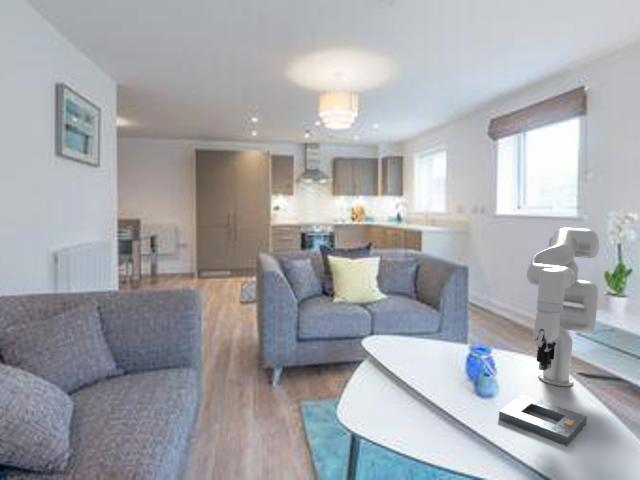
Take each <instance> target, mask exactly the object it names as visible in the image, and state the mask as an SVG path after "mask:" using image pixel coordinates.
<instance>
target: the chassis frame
mask: <svg viewBox="0 0 640 480" xmlns="http://www.w3.org/2000/svg"><path fill="white" fill-rule="evenodd" d="M530 413H534V414H536V415H538V416H542V417H545V418H547V419H550V420H552V421H555V422H557V423H556V424H555V423H553V422H549V421H546V420H544V419H542V418H540V417H536V416H533V415H530ZM499 419H500V420H499ZM498 420H499V421H501V420H502V422H504V421H505V422H504V423H506V422H507V424H509V423H510V425H511V424H512V426H514V427H516V426H517V428H519V429H522V430H524V431H527V432H530V433H532V434H535V435H536V436H537V435H538V436H540V437H542V438H544V439H547V440H550V441H551V442H552V441H553V442H554V443H557V444H560V445H562V446H565V447H568V446H569V445H570V443H572V441H573V440H574V439H575V438H576V437H577V436H578V435H579V433H581V431H582V430H584V428H585V427H586V425H587V422H588V421H587V420H588V416H587V415H584V414H582V413H579V412H576V411H574V410H570V409H567V408H564V407H561V406H558V405H555V404H553V403H550V402H547V401H544V400H541V399H538V398H534V397H532V396H529V395H526V394H524V393H522V394H521V395H519V396H518V397H516V398H515V399H513V401H511V402H509V403H508V404H507V405H505V406H504V407H503V408H502V409H500V410H499V411H498Z"/></svg>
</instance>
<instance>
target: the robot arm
mask: <svg viewBox="0 0 640 480" xmlns="http://www.w3.org/2000/svg"><path fill="white" fill-rule="evenodd" d="M599 250H600V241H599V236H598V234H597V232H596V231H595V230H593V229H590V228H577V227H562V228H559V229H557V230H555V231H554V234H553V235H552V236H550V237H549V239H548V248H546V249H544V250H541V251H538V252H537V253H535V254H534V255H533V257H532V258H531V260H530V262H529V265H528V269H527V272H526V279H527V281H528V283H529V284H531V285H534V286H538V289H537V297H536V310H537V312H536V317H535V322H534V329H533V335H532V338H533V340H534V341H536V345H537V353H536V362H537V363H539V362H541V363H544V364H547V363H548V352H547V350H548V345H549V343H550V342H552V341H553V342H555V343H556V345H555V347H554V349H551V350H549V355H550V357H549V358H551V359H550V360H551V368H550V369H546V370H545V371H544V370H542V371H541V372H540V371H539V373H538V378H539V379H540V380H541V381H542V382H544V383H546V384H549V385H552V386H557V387H571V386H573V385H574V380H573V378H572V377H571V376H570V371H571V363H572V351H573V338H572V336H571V335H570V333H569V332H568V331H573V332H579V333H584V334H586V333H587V334H590V333H592V332H593V331H594V330H595V327H596V322H597V312H598V311H597V310H598V303H599V302H598V299H599V290H598V289H599V288H598V286H597V284H596V282H594V281H589V280H583V279H578V277H579V276H578V275H579V265H578V264H577V262H576V261H575V257H576V258H584V259H585V258H586V259H593V258H595V257H597V256H598V254H599ZM564 303H571V304H578V305H582V306H583V307H579V306H573V305H567V304H566V305H565V304H564ZM543 340H546V342H544V341H543ZM543 343H544V344H546V345H545V346H544V345H543Z"/></svg>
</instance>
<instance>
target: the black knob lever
mask: <svg viewBox="0 0 640 480" xmlns="http://www.w3.org/2000/svg"><path fill="white" fill-rule="evenodd" d="M543 341H544V342H546V340H543ZM543 345H544V346H545V345H546V344H544V343H543ZM555 345H556V343H555V342H553V341H552V342H550V343H549V345H548V350H547V352H548V363H547V364H544V363H541V362H538V363H539V364H538V370H539V371H543V370H544V371H545V370H546V369H550V368H551V360H550V359H551V358H549V357H550V355H549V350H551V349H554V347H555Z"/></svg>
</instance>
